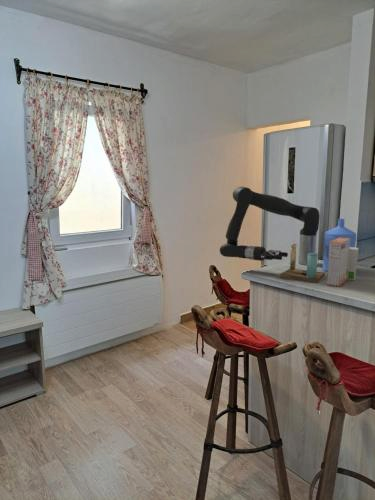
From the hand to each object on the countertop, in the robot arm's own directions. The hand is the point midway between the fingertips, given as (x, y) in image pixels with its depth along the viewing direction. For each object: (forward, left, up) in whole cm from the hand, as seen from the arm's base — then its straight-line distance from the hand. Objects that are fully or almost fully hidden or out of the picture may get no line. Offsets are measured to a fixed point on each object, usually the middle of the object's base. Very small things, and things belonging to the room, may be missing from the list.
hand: (284, 256), depth 185 cm
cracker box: (0, +26, -10) cm, 28 cm away
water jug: (-25, +21, -10) cm, 34 cm away
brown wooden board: (-1, +9, -10) cm, 14 cm away
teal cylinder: (+4, +15, -8) cm, 17 cm away
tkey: (0, +8, -8) cm, 11 cm away
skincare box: (-11, +28, -10) cm, 32 cm away
